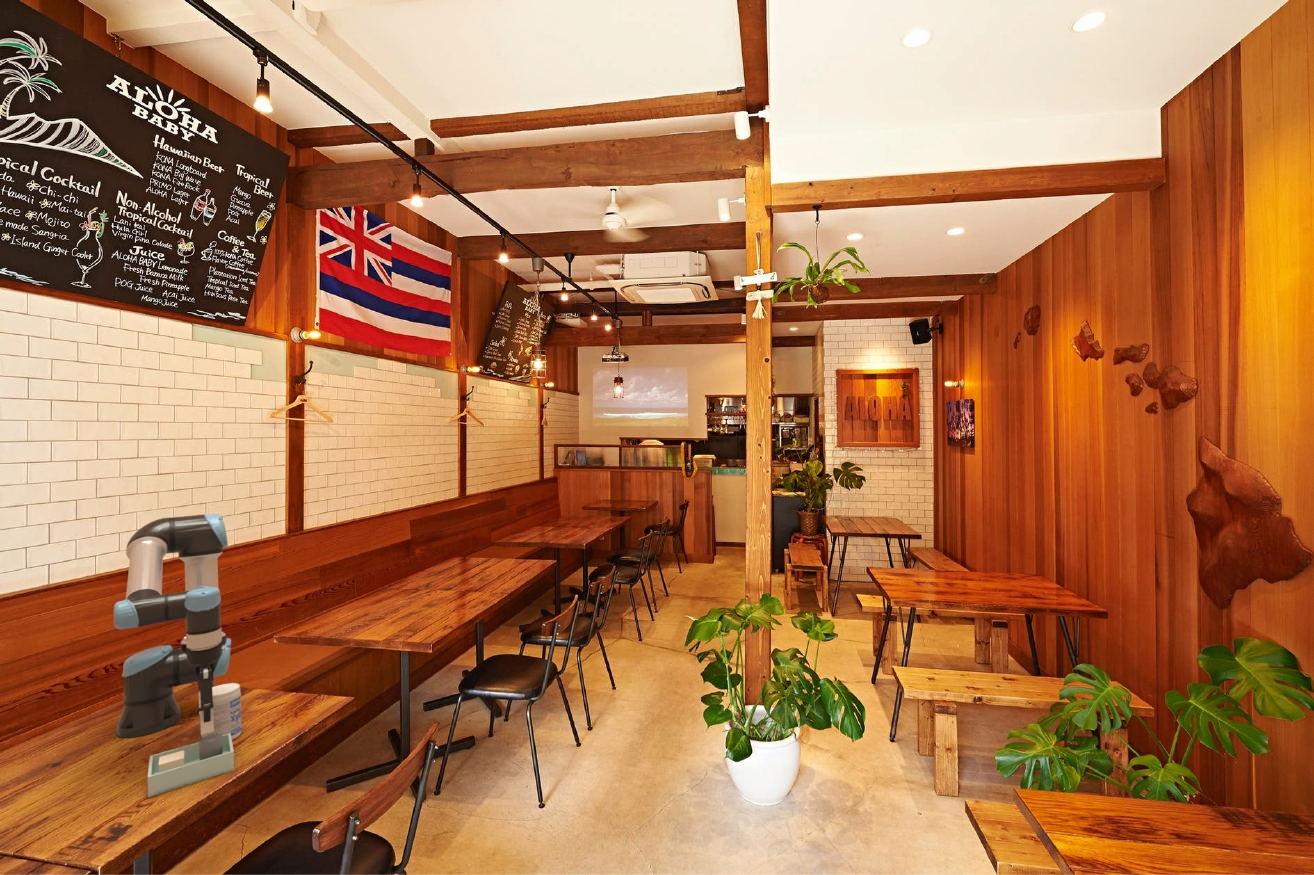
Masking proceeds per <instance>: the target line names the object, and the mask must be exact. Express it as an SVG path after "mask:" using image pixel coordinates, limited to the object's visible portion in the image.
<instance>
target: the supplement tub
mask: <svg viewBox="0 0 1314 875" xmlns="http://www.w3.org/2000/svg"><path fill="white" fill-rule="evenodd" d="M212 694H213V705H214V706H213V717H214V732H210V733H206V734H203V735H201V739H202V738H204V737H206V736H209V735H213V734H222V735H225V734H229V733H231V739H232V741H234V740H235V739H237V738H238V737H240V735H241V734H242V733H243V732H242V725H243V724H242V697H241V696H242V694H241V685H240V684H239V683H235V682H231V683H224V684H219V685H215V686H213V687H212Z"/></svg>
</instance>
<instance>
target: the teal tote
mask: <svg viewBox="0 0 1314 875" xmlns="http://www.w3.org/2000/svg"><path fill="white" fill-rule="evenodd" d="M222 741H223V754H220V755H217V756H214V757H210V758H207V759H204V760H201V761H199V741H197V742H195V743H191V744H186V745H183V746H181V747H177V748H173V749H169V750H166V751H162V752H159V753H155V754H151V755H150V756H149V760H148V761H149V762H148V769H147V770H148V771H147V797H148V798H152V797H154V796H158V795H160V794H163V793H164V794H165V793H167V792H169V791H172V790H173V791H174V790H176V789H180V788H183V787H186V786H189V785H192V784H195V783H198V782H202V781H205V780H209V779H211V778H214V777H217V776H220V775H223V774H226V773H229V772H233V771H235V756H234V755H235V750H234V746H233V740H232V739H231V733H229V734H225V735H222ZM183 750H184V758H185V765H184V766H181V767H177V768H174V769H171V770H167V771H164V772H161V773H159V758H160V757H161V756H165V755H169V754H172V753H176V752H179V751H183Z"/></svg>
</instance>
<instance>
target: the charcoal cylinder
mask: <svg viewBox="0 0 1314 875" xmlns="http://www.w3.org/2000/svg"><path fill="white" fill-rule="evenodd" d="M198 742H199V761H201V760H204V759H207V758H210V757H214V756H217V755H220V754H223V741H222V734H213V735H209V736H206V737H204V738H202V737H201V739H199V741H198Z"/></svg>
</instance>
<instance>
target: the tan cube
mask: <svg viewBox="0 0 1314 875" xmlns="http://www.w3.org/2000/svg"><path fill="white" fill-rule="evenodd" d="M184 765H185V758H184V750H183V751H179V752H176V753H172V754H169V755H165V756H161V757H160V758H159V773H161V772H164V771H167V770H171V769H174V768H177V767H181V766H184Z"/></svg>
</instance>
